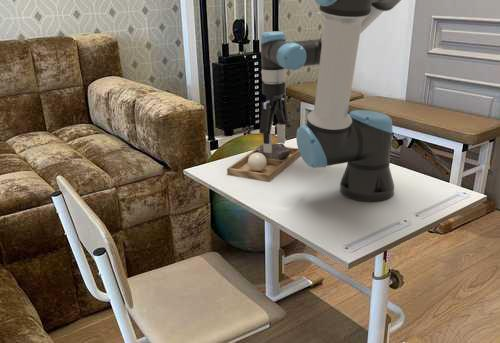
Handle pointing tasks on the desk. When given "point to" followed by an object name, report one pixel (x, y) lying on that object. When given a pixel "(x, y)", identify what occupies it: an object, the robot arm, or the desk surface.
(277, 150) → the rock
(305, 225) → the desk surface
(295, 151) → the wooden tray
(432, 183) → the desk surface
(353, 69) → the robot arm
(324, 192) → the desk surface
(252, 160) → the ceramic ball
